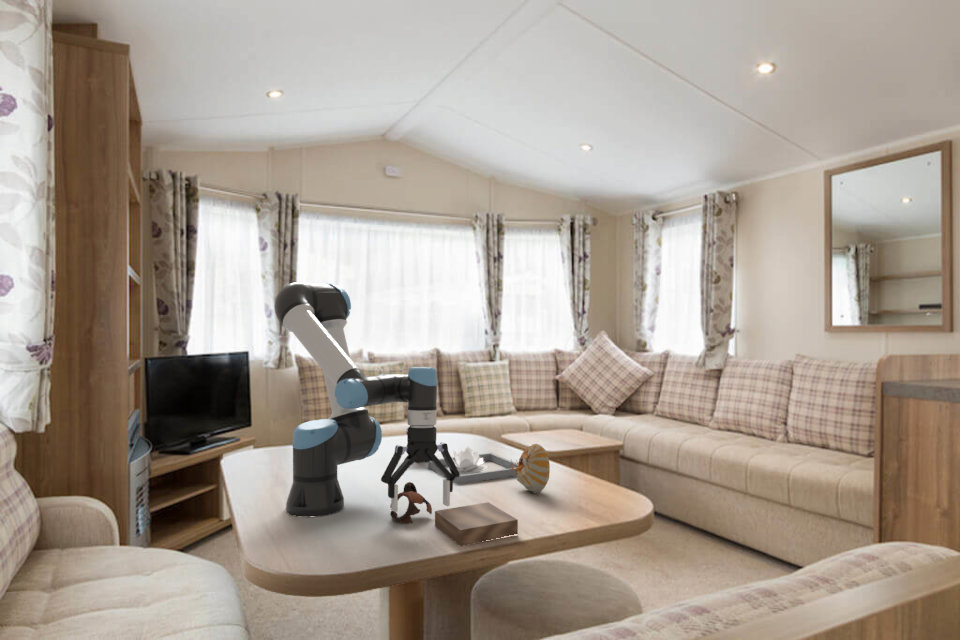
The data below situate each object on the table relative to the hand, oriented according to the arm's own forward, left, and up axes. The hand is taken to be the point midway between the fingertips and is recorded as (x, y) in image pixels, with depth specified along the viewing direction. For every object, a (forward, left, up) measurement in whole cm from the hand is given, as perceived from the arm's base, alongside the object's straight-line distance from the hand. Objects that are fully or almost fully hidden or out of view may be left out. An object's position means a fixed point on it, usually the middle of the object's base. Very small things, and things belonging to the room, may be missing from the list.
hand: (420, 509), depth 152 cm
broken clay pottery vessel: (+1, +4, -2) cm, 4 cm away
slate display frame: (+35, +38, -3) cm, 52 cm away
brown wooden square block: (+8, -15, -4) cm, 17 cm away
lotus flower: (+31, +37, -3) cm, 49 cm away
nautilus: (+39, +10, -3) cm, 41 cm away
